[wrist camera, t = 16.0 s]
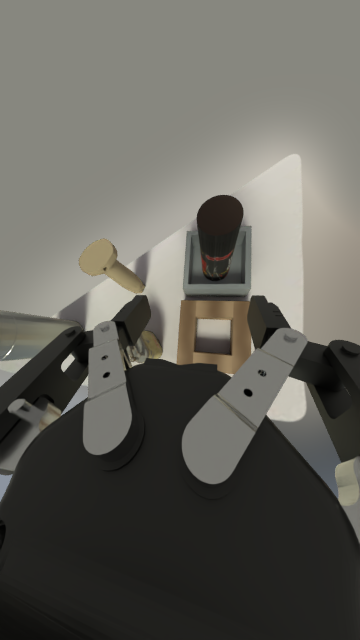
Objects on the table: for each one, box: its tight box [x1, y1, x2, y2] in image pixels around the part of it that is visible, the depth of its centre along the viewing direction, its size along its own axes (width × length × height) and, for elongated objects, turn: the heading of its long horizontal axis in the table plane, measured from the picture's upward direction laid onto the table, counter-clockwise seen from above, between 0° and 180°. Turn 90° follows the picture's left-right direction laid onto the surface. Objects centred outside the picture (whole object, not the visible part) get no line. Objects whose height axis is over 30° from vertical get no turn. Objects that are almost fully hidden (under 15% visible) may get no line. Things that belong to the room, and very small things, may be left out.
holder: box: [177, 300, 251, 374], centre depth 31 cm, size 14×14×4 cm
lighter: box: [127, 331, 162, 363], centre depth 31 cm, size 7×4×10 cm, turn 33°
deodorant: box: [197, 195, 243, 281], centre depth 27 cm, size 6×6×15 cm
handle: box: [79, 239, 145, 294], centre depth 31 cm, size 5×6×15 cm
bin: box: [183, 226, 251, 297], centre depth 32 cm, size 13×13×5 cm
